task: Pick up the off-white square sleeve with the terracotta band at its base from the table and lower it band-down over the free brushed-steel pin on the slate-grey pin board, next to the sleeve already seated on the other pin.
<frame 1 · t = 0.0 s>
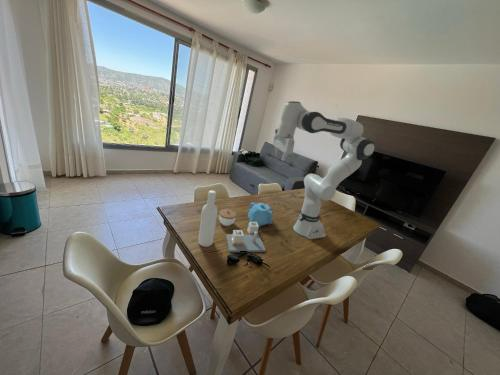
hand: (279, 158, 115), 48 cm above the table, fingers open, 8 cm apart
seated sleeve: (236, 241, 114), point 1 cm above the table, touching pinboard
decorative pot: (258, 221, 141), on the table
sleeve: (252, 232, 128), on the table
bottle: (205, 242, 110), on the table
lidded jar: (226, 223, 131), on the table
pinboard: (244, 243, 116), on the table
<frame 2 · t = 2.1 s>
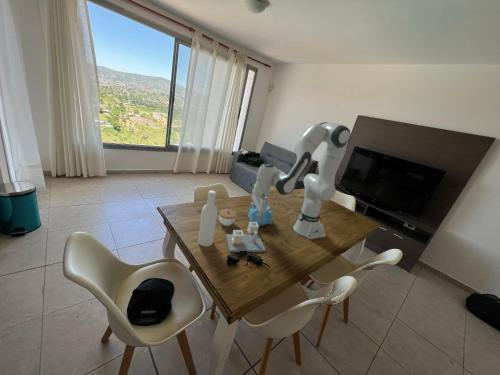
hand: (256, 212, 122), 14 cm above the table, fingers open, 8 cm apart
nothing on the table moved.
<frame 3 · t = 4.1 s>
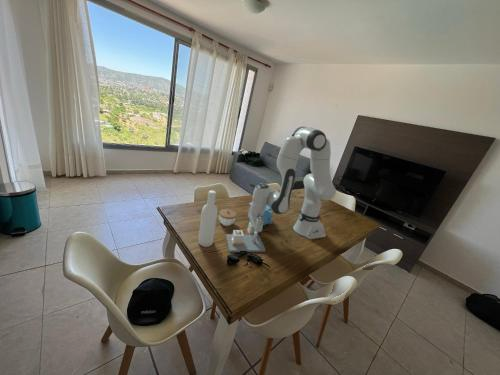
hand: (252, 229, 127), 2 cm above the table, fingers closed on sleeve, 5 cm apart
sleeve: (252, 232, 128), on the table, touching gripper
everything else where it was.
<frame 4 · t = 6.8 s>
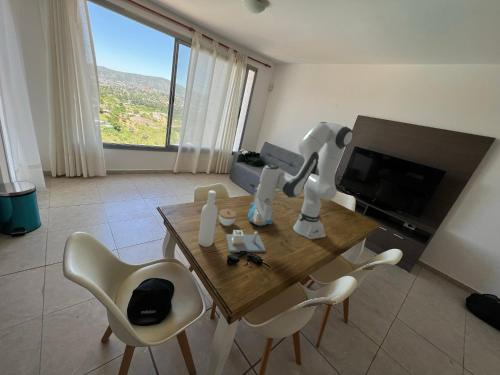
hand: (259, 218, 111), 17 cm above the table, fingers closed on sleeve, 5 cm apart
sleeve: (258, 221, 112), point 15 cm above the table, touching gripper
everything else where it was.
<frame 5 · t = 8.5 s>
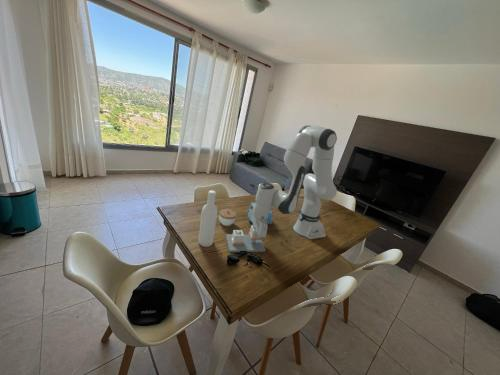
hand: (255, 233, 115), 7 cm above the table, fingers closed on sleeve, 5 cm apart
sleeve: (254, 237, 115), point 5 cm above the table, touching gripper
everything else where it was.
when the fingers open (5 cm above the table, at t = 9.7 s): sleeve drops 2 cm, resting on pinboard.
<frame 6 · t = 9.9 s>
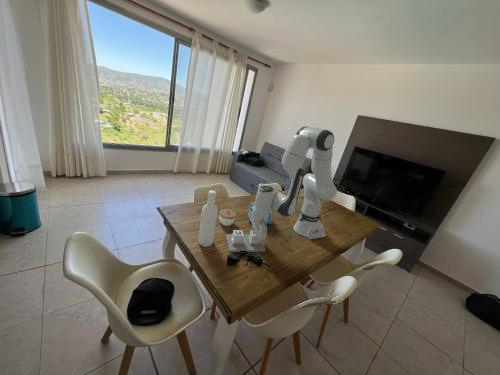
hand: (255, 236, 115), 5 cm above the table, fingers open, 7 cm apart
sleeve: (253, 241, 117), point 1 cm above the table, touching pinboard
everything else where it was.
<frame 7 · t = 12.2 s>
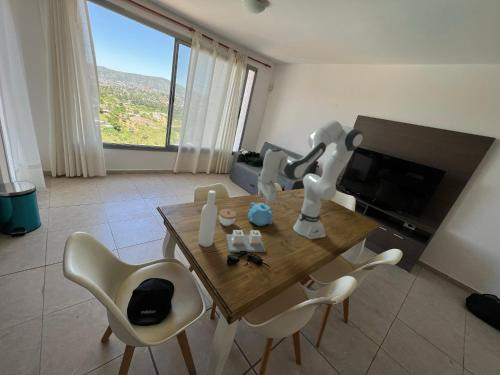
hand: (263, 200, 116), 24 cm above the table, fingers open, 8 cm apart
nothing on the table moved.
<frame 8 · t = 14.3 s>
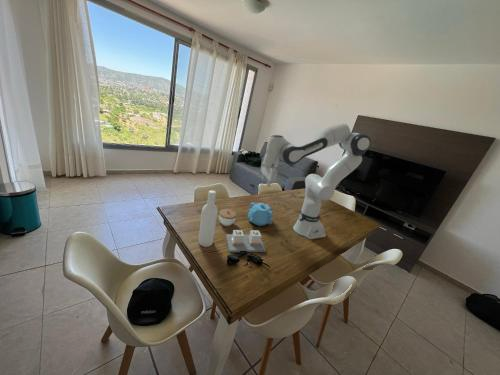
hand: (265, 183, 128), 29 cm above the table, fingers open, 8 cm apart
nothing on the table moved.
at the end: sleeve 0.1 cm from the target spot on the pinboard, point 1.2 cm above the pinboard's base; sleeve tilted 0°; the gripper is holding nothing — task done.
